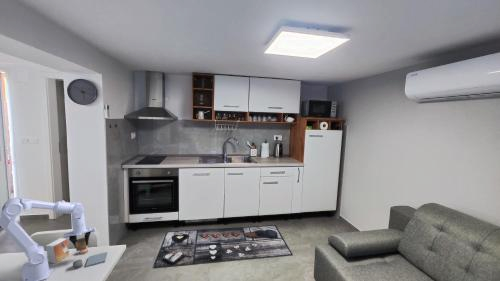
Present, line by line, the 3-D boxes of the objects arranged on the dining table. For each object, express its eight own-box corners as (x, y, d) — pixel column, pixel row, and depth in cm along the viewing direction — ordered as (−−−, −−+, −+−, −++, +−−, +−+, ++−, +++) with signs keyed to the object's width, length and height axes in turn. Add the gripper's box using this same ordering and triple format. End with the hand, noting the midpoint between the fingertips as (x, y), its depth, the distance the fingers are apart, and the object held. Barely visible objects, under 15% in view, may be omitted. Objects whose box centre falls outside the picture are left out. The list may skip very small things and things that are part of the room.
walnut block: (76, 251, 125) (75, 243, 124) (78, 247, 129) (77, 239, 128) (86, 249, 127) (85, 241, 126) (87, 245, 131) (86, 237, 130)
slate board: (85, 267, 122) (85, 265, 122) (89, 257, 130) (89, 256, 130) (104, 262, 126) (104, 260, 126) (107, 253, 134) (107, 251, 134)
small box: (55, 263, 126) (53, 246, 124) (47, 262, 127) (45, 245, 125) (69, 254, 133) (67, 238, 132) (62, 253, 134) (59, 237, 133)
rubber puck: (72, 270, 120) (71, 265, 120) (74, 265, 124) (73, 260, 123) (81, 267, 122) (80, 263, 121) (83, 263, 125) (82, 258, 125)
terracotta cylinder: (78, 255, 133) (78, 250, 132) (81, 251, 136) (80, 246, 136) (86, 253, 134) (86, 248, 134) (88, 249, 138) (88, 245, 137)
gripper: (60, 230, 119) (64, 253, 121) (92, 223, 125) (95, 245, 127) (64, 224, 125) (67, 246, 127) (95, 218, 132) (97, 239, 134)
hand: (81, 245), depth 128 cm, fingers closed on walnut block, 4 cm apart
